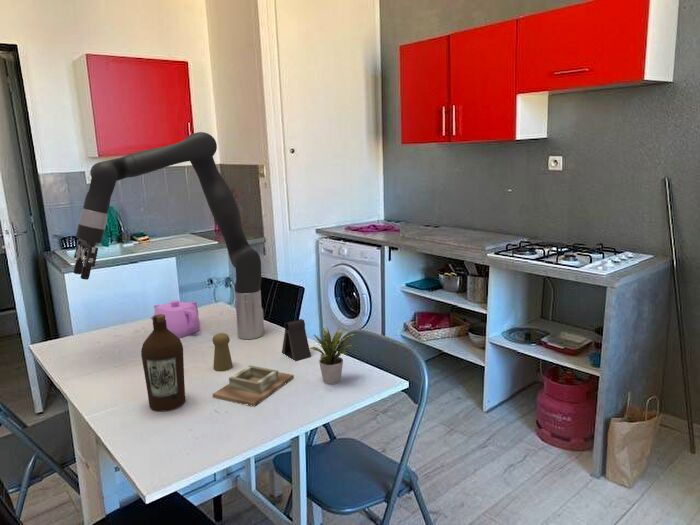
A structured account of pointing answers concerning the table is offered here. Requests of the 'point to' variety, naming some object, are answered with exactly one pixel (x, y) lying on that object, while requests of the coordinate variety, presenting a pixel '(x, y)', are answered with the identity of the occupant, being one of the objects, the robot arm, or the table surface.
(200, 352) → the table surface
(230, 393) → the socket board
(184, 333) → the teakettle
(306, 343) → the phone stand
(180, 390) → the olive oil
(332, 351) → the house plant
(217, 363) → the cork
